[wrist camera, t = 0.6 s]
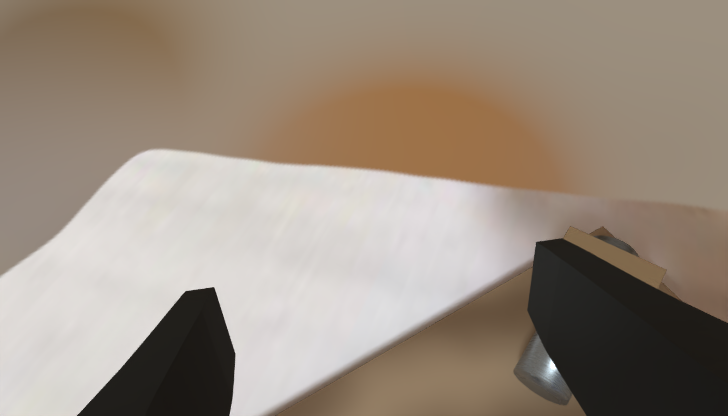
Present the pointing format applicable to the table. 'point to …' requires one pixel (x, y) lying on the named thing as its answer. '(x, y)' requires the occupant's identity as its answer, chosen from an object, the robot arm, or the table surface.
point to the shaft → (535, 360)
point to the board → (450, 367)
